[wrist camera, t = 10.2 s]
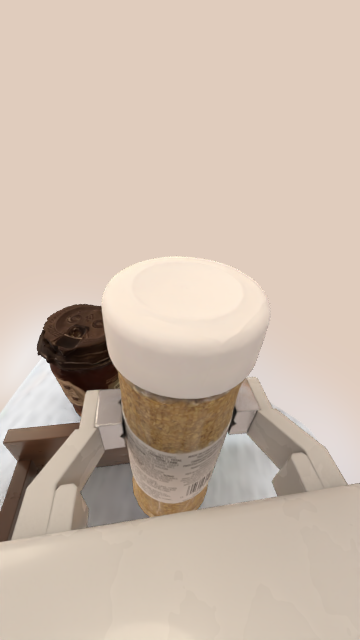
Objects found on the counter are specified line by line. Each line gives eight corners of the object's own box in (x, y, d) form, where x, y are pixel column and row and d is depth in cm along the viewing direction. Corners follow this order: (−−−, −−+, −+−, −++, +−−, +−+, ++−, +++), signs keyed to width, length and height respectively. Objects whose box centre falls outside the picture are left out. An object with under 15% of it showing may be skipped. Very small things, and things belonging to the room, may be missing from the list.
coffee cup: (77, 448, 27) (45, 371, 19) (54, 394, 32) (20, 315, 23) (146, 407, 31) (144, 329, 23) (116, 365, 36) (106, 290, 28)
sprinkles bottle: (181, 429, 17) (205, 243, 9) (223, 494, 14) (315, 306, 6) (119, 464, 15) (77, 265, 7) (153, 549, 12) (148, 379, 4)
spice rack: (-6, 595, 18) (-57, 586, 14) (33, 463, 25) (8, 429, 21) (179, 559, 20) (186, 541, 16) (167, 446, 27) (170, 413, 23)
